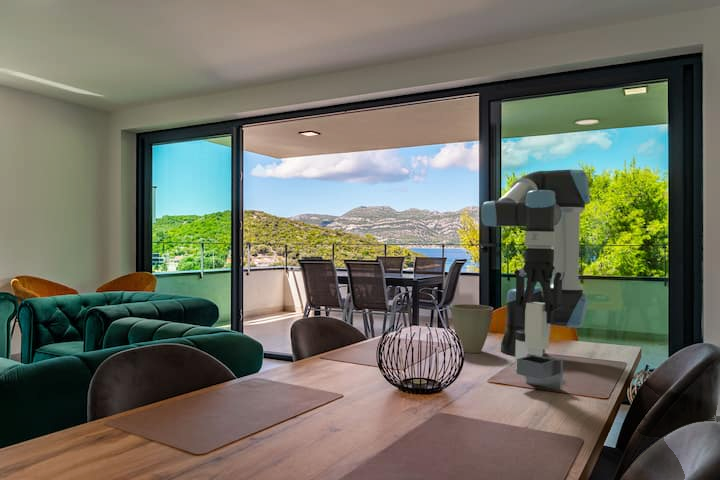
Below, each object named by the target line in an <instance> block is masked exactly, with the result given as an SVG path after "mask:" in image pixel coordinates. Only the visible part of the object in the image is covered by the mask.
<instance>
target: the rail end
mask: <svg viewBox="0 0 720 480" xmlns="http://www.w3.org/2000/svg"><path fill="white" fill-rule="evenodd" d="M545 310H546V306H545V303H540V302H529V303H526V328H525V347H526V348H532V349H537V350H543V349H545V350H546V349H549V348H550V345H549V344H550V335H549V336H543V311H545Z"/></svg>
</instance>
